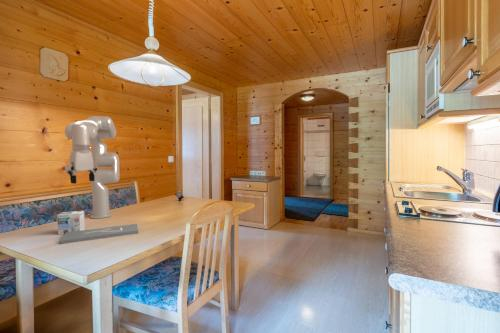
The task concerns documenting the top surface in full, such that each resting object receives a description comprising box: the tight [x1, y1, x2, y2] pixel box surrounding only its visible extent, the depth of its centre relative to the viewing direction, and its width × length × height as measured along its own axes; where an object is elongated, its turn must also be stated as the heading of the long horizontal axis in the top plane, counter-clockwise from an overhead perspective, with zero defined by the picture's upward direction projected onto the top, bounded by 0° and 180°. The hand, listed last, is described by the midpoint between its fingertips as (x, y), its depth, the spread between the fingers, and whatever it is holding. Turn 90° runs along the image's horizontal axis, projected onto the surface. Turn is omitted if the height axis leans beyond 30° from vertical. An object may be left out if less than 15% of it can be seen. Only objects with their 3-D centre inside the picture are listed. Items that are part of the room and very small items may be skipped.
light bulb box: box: [57, 210, 86, 236], centre depth 141 cm, size 11×7×11 cm, turn 105°
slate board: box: [59, 223, 139, 245], centre depth 138 cm, size 14×34×2 cm, turn 116°
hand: (83, 182), depth 135 cm, fingers open, 9 cm apart
